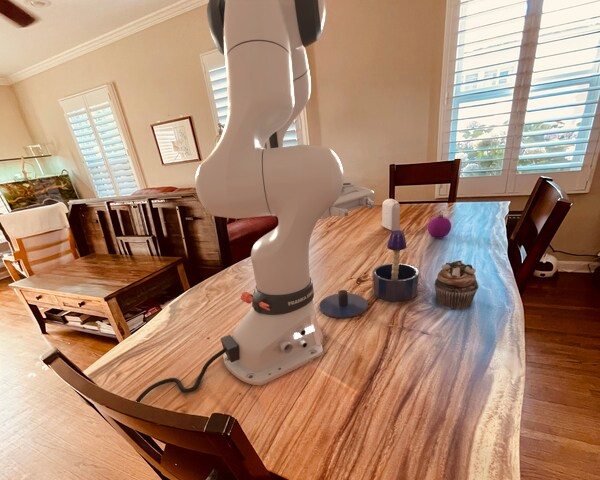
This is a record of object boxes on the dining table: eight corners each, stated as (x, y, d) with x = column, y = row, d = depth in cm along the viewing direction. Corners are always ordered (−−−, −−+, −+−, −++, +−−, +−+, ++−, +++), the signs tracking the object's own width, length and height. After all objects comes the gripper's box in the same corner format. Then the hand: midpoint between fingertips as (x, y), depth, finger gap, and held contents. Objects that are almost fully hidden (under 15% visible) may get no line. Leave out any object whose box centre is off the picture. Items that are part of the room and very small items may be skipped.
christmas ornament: (444, 233, 124) (447, 208, 119) (453, 239, 116) (457, 212, 112) (423, 235, 124) (425, 210, 119) (431, 242, 117) (434, 215, 112)
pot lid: (346, 326, 73) (345, 309, 71) (309, 310, 81) (308, 294, 79) (377, 305, 80) (378, 289, 78) (340, 292, 88) (340, 277, 86)
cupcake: (423, 299, 80) (427, 263, 75) (452, 289, 83) (457, 254, 78) (454, 315, 72) (460, 276, 67) (484, 304, 75) (492, 265, 70)
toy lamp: (406, 290, 84) (410, 230, 76) (398, 297, 81) (401, 235, 73) (390, 286, 87) (392, 227, 79) (382, 293, 84) (383, 233, 76)
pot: (401, 308, 77) (403, 285, 74) (364, 296, 85) (364, 274, 82) (424, 291, 84) (427, 269, 81) (388, 281, 91) (388, 260, 88)
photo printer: (380, 226, 142) (381, 198, 136) (389, 224, 142) (390, 196, 136) (391, 231, 133) (392, 202, 127) (400, 230, 133) (402, 200, 127)
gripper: (299, 196, 89) (328, 206, 79) (355, 181, 97) (388, 189, 87) (301, 217, 92) (328, 230, 82) (355, 201, 100) (386, 211, 90)
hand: (359, 209), depth 85 cm, fingers open, 8 cm apart
